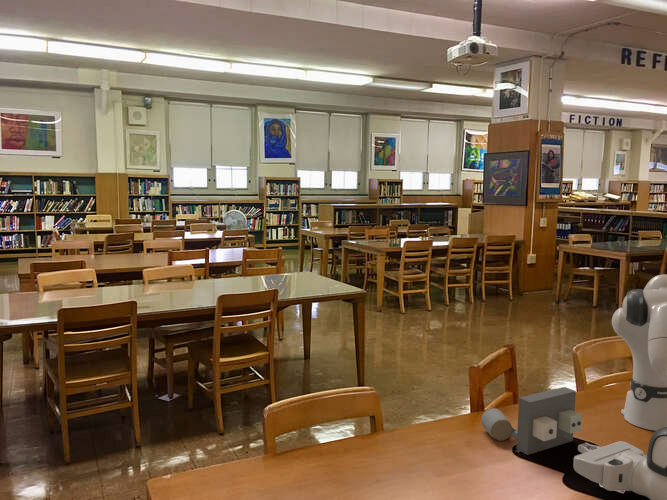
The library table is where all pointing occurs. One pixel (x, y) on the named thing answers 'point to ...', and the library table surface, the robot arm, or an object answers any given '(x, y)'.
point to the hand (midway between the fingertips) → (581, 446)
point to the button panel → (543, 406)
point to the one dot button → (544, 428)
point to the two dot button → (569, 421)
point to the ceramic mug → (497, 425)
